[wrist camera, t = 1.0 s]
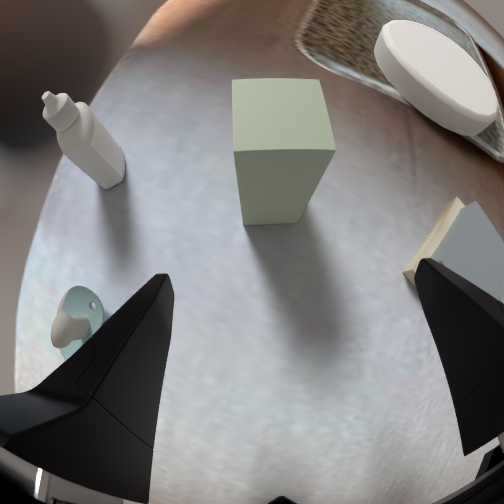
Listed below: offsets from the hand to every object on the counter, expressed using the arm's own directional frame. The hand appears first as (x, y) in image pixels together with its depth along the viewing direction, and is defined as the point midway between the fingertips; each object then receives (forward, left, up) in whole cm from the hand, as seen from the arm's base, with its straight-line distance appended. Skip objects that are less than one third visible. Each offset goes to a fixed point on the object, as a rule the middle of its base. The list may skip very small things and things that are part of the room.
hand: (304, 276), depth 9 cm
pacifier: (+10, +15, -14) cm, 23 cm away
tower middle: (-12, -14, -11) cm, 22 cm away
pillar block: (+6, -5, -13) cm, 15 cm away
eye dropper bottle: (+20, +3, -14) cm, 24 cm away
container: (+3, -37, -14) cm, 40 cm away
